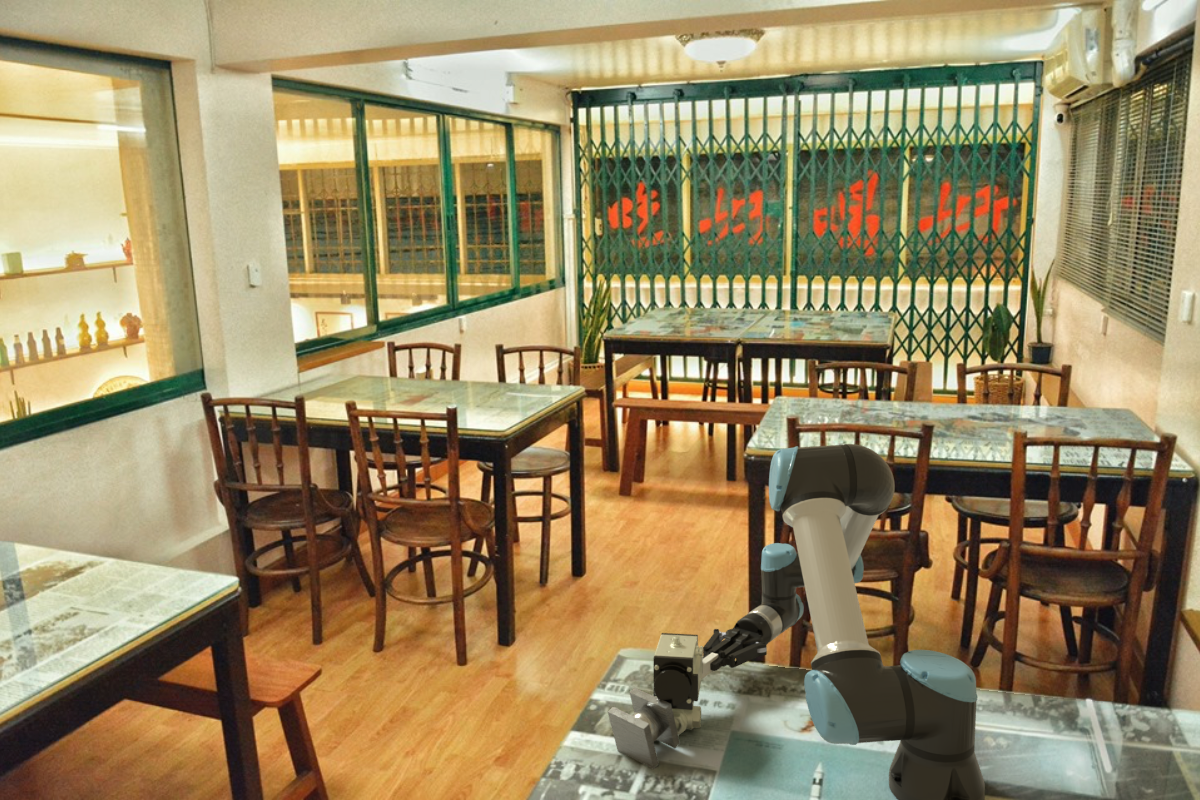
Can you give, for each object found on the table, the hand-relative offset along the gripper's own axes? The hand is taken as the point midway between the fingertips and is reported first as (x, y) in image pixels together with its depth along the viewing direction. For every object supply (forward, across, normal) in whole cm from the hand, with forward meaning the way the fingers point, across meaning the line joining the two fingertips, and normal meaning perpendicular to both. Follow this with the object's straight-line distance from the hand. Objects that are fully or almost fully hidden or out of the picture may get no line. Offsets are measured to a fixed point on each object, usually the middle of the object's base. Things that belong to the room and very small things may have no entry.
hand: (698, 672), depth 183 cm
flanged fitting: (+18, 0, -7) cm, 19 cm away
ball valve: (+9, -1, -8) cm, 11 cm away
